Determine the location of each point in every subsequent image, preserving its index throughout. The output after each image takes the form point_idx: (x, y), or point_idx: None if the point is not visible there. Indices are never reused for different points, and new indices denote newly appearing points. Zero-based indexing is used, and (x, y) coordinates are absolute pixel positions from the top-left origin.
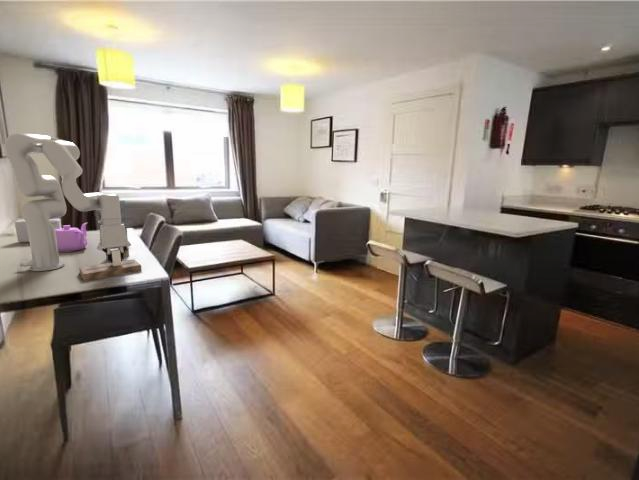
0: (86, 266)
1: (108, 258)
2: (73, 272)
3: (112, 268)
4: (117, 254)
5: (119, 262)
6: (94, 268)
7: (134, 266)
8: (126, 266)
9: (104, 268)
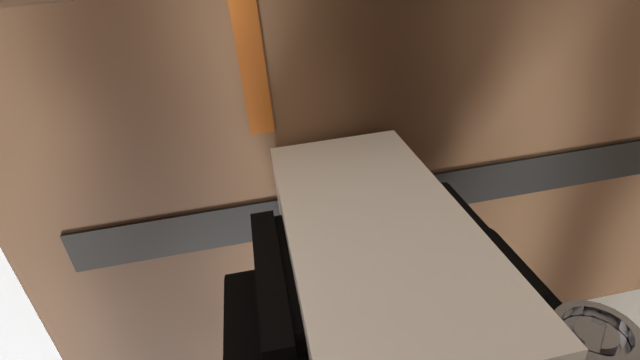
0: (620, 284)
1: (511, 251)
2: (633, 290)
3: (423, 39)
4: (376, 279)
5: (305, 170)
6: (609, 157)
7: (31, 4)
8: (190, 52)
9: (515, 102)
